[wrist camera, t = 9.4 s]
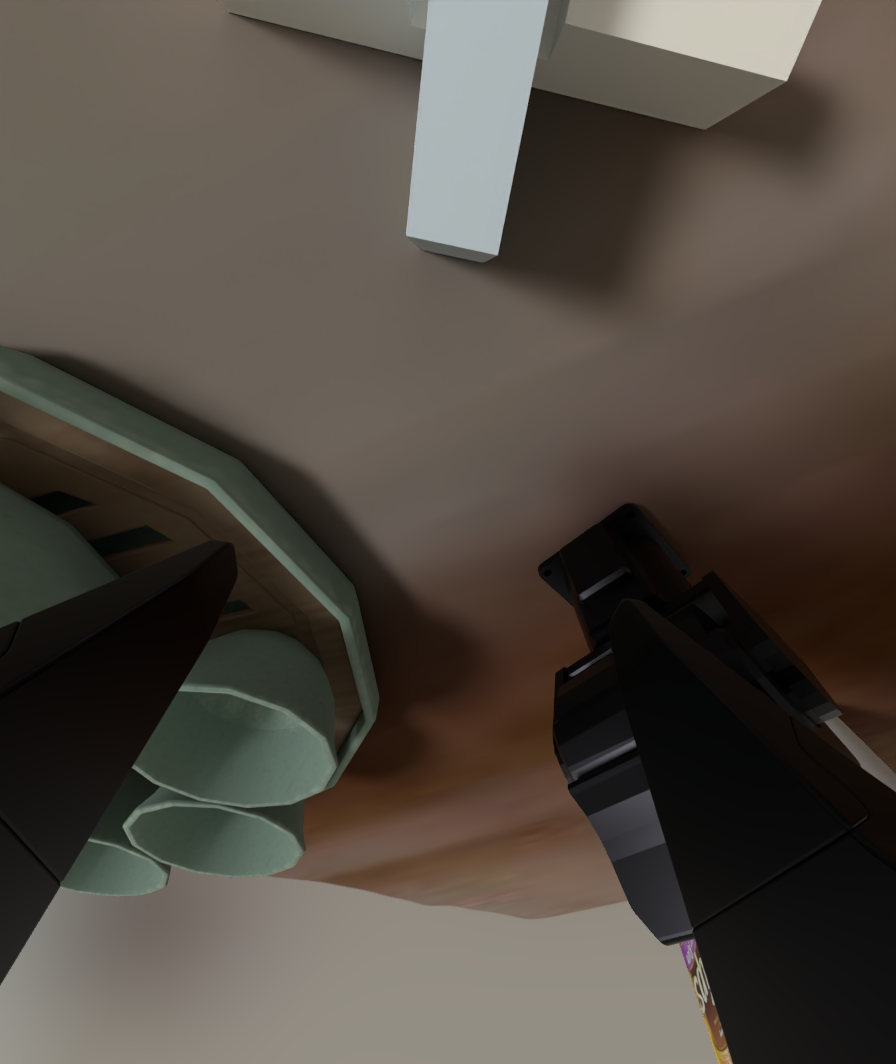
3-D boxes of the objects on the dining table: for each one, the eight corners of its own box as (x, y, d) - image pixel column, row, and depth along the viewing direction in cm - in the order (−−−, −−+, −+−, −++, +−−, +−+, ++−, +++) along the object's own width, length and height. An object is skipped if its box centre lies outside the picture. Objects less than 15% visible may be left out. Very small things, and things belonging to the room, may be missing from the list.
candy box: (670, 835, 43) (763, 1074, 30) (711, 834, 43) (822, 1075, 30) (650, 868, 48) (724, 1086, 35) (687, 867, 48) (775, 1087, 35)
